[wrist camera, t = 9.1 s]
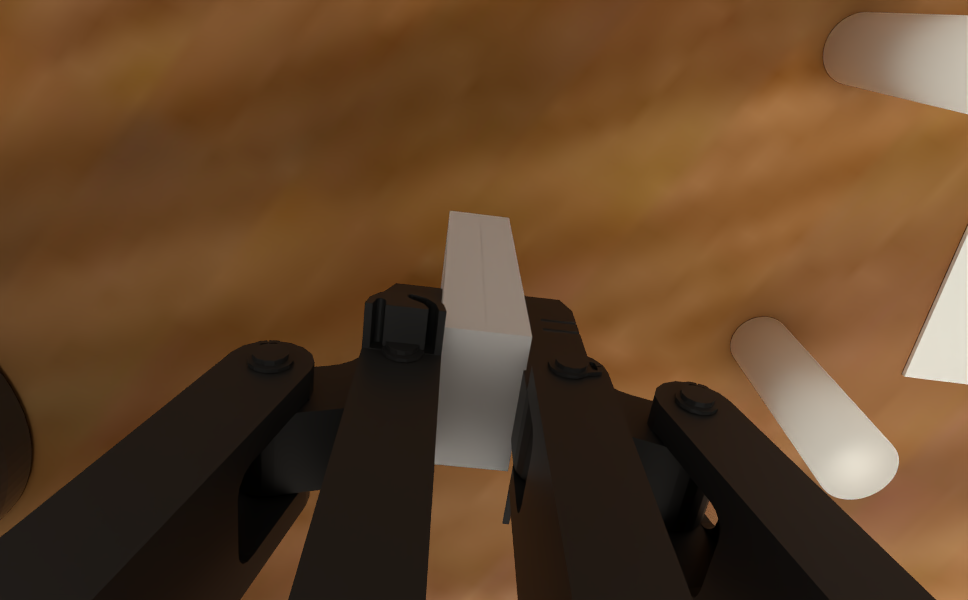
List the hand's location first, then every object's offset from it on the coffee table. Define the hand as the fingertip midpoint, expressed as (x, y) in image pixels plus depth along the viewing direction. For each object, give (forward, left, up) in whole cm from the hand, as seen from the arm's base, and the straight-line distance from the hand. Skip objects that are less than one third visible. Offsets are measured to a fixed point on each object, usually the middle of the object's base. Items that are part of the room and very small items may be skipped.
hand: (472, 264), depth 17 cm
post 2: (+14, +6, -11) cm, 19 cm away
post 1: (+14, -6, -11) cm, 19 cm away
